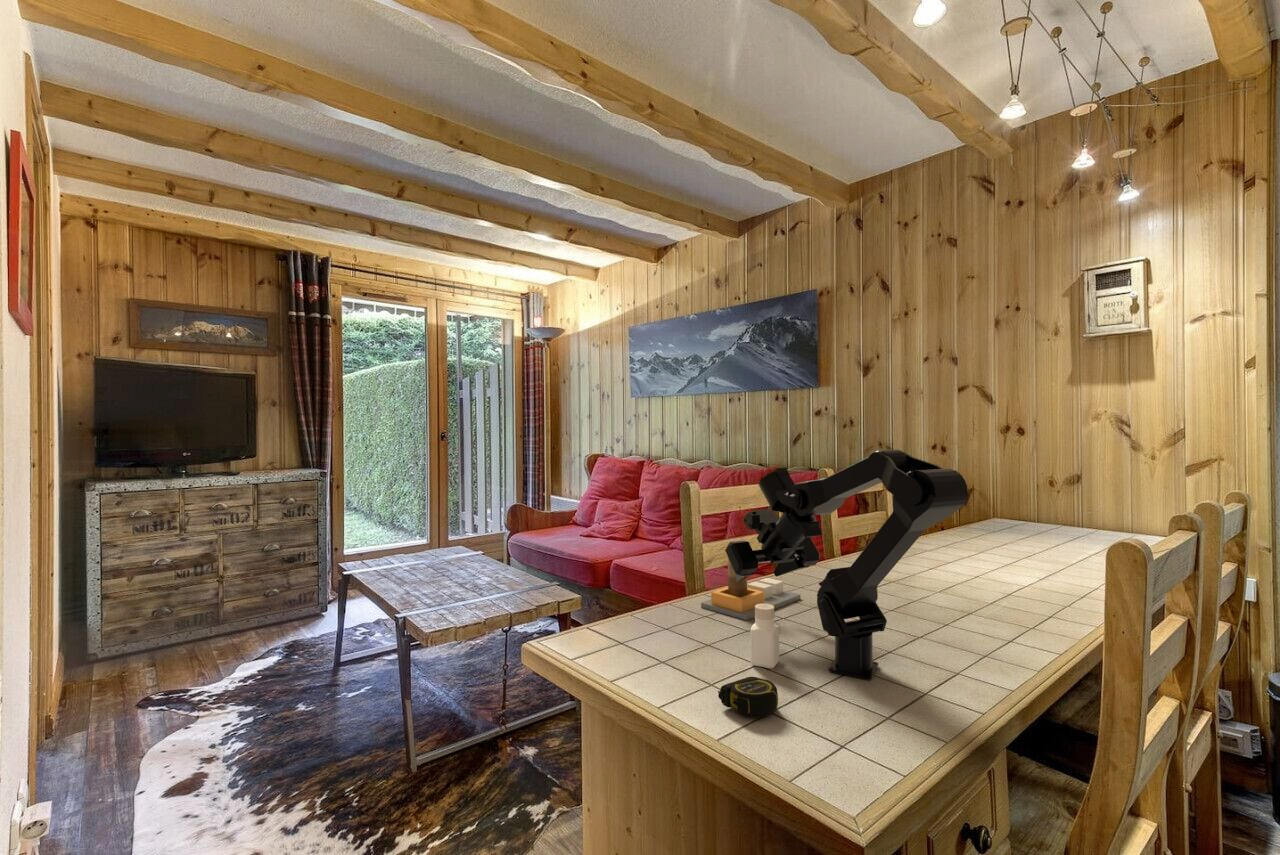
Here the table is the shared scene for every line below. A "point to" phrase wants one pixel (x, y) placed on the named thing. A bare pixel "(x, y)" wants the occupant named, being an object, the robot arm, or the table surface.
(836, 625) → the robot arm
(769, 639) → the pepper shaker
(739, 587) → the peg
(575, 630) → the table surface
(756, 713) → the tape measure
